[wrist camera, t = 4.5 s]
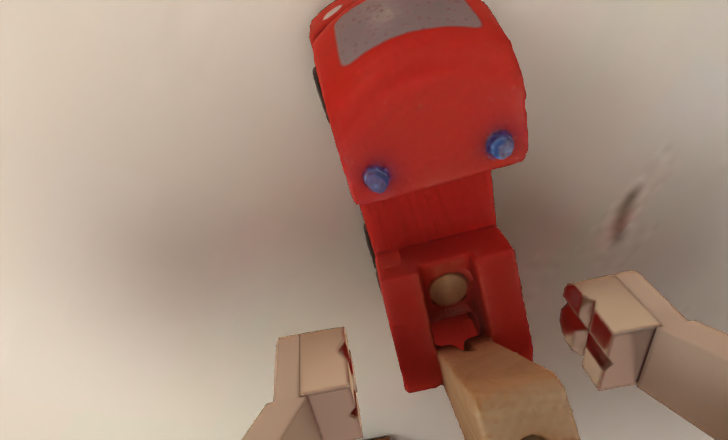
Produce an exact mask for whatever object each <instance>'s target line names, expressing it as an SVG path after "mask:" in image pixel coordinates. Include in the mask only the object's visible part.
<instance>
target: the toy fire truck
mask: <svg viewBox="0 0 728 440" xmlns="http://www.w3.org/2000/svg"><path fill="white" fill-rule="evenodd" d="M309 38H310V41H311V45H312V48H313V53H314V62H315V65H316V66H315V67H314V68H313V76H314V80H315V83H316V87H317V91H318V95H319V97H320V100H321V103H322V106H323V109H324V111H325V113H326V117H327V120H328V122H329V124H330V125H331V129H332V132H333V135H334V139H335V143H336V147H337V150H338V152H339V155H340V160H341V163H342V167H343V170H344V173H345V175H346V178H347V182H348V185H349V188H350V192H351V195H352V198H353V200H354V202H355V203H356V204H359V205H360V208H361V211H362V215H363V218H364V221H365V224H364V232H365V235H366V240H367V244H368V248H369V251H370V254H371V257H372V260H373V264H374V267H375V269H376V276H377V279H378V283H379V287H380V290H381V294H382V297H383V300H384V304H385V308H386V313H387V316H388V320H389V325H390V329H391V333H392V337H393V341H394V345H395V349H396V353H397V357H398V361H399V366H400V370H401V373H402V377H403V381H404V387H405V390H406V391H407V392H408V393H413V392H417V391H422V390H427V389H431V388H436V387H438V386H439V385H443V386H444V388H445V390H446V393H447V395H448V397H449V400H450V402H451V405H452V408H453V411H454V413H455V416H456V418H457V420H458V423H459V425H460V428H461V430H462V433H463V435H464V438H465V440H580V437H579V434H578V430H577V426H576V423H575V420H574V417H573V414H572V409H571V407H570V405H569V402H568V398H567V395H566V391H565V388H564V386H563V385H562V383H561V382H560V380H559V379H558V377H557V376H556V375H555V374H554V372H552V371H550V370H548V369H546V368H545V367H543V366H540V365H538V364H536V363H534V362H533V346H532V340H531V335H530V332H529V324H528V320H527V316H526V310H525V304H524V301H523V295H522V287H521V283H520V278H519V274H518V267H517V263H516V256H515V251H514V249H513V248H512V246H511V245H510V244H509V242H508V241H507V239H506V238H505V237H504V235H503V234H502V232H501V231H500V230H499V229H498V228H497V225H496V215H495V206H494V197H493V184H492V177H491V170H493V169H497V168H501V167H505V166H508V165H512V164H515V163H518V162H522V161H523V160H524V159H525V156H526V153H527V151H528V129H527V113H526V109H525V99H526V91H525V87H524V82H523V77H522V73H521V70H520V67H519V64H518V61H517V58H516V56H515V53H514V51H513V48H512V44H511V41H510V40H509V39H508V37H507V36H506V35H505V33H504V32H503V30H502V28H501V27H500V25H499V24H498V22H497V20H496V18H495V17H494V15H493V14H492V12H491V11H490V9H489V8H488V6H487V5H486V4H485V3H484V2H482V1H481V0H336V1H335V2H333V3H332V4H330V5H329V6H327V7H326V8H325V9H323V10H322V11H321V12H320V13H319V14H318V15H317V16H316V17H315V18H314V19H313V20H312V22H311V25H310V36H309Z"/></svg>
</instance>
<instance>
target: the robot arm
mask: <svg viewBox="0 0 728 440" xmlns="http://www.w3.org/2000/svg"><path fill="white" fill-rule="evenodd" d="M563 297H564V298H565V300H566V301H567V304H566V305H565V306H564V307H563V308H562V309H561V311H560V325H561V330H562V333H563V336H564V338H565V340H566V342H567V344H568V345H569V347H570V348H571V350H573V351H575V352H576V353H578V354H580V355H582V356H583V361H582V367H583V368H584V370H585V371H586V373H587V374H588V376H589V377H590V379H591V380H592V382H593V383H594V385H595V386H596V388H597V389H598V391H601V390H606V389H612V388H618V387H624V386H630V385H636V384H637V387H638V388H640V389H641V390H643V391H644V392H646V393H647V394H649V395H650V396H652V397H653V398H655V399H656V400H658V401H659V402H660V403H662V404H663V405H665V406H666V407H668V408H669V409H671V410H672V411H674V412H675V413H677V414H678V415H680V416H681V417H683V418H684V419H686V420H687V421H689V422H690V423H692V424H693V425H694V426H696V427H697V428H699V429H700V430H702V431H703V432H705V433H706V434H708V435H709V436H711V437H712V438H714V439H715V440H728V334H726V333H724V332H721V331H719V330H717V329H714V328H712V327H709V326H707V325H705V324H702V323H700V322H698V321H695V320H694V321H687V320H686V319H685V318H684V317H683V316H682V315H681V314H680V313H679V312H678V311H677V310H676V309H675V308H674V307H673V306H672V305H671V304H670V303H669V302H668V301H667V300H666V299H665V298H664V297H663V296H662V295H661V294H660V293H659V292H658V291H657V290H656V289H655V288H654V287H653V286H652V285H651V284H650V283H649V282H648V281H647V280H646V279H645V278H644V277H643V276H642V275H641V274H639V273H638V272H636V271H633V270H632V271H627V272H622V273H617V274H612V275H606V276H601V277H596V278H591V279H586V280H581V281H576V282H571V283H568V284H567V285H566V286H565V288H564V293H563ZM356 393H357V386H356V379H355V373H354V367H353V361H352V356H351V352H350V350H349V348H348V340H347V335H346V331H345V327H338V328H332V329H326V330H320V331H314V332H307V333H301V334H298V335H292V336H286V337H280V338H278V341H277V344H276V359H275V377H274V396H273V402H272V403H268V404H266V405H265V407H264V408H263V409H262V411H261V412H260V414H259V415H258V417H257V418H256V420H255V421H254V423H253V424H252V425H251V427H250V428H249V430H248V431H247V433H246V434H245V436H244V437H243V439H242V440H354V439H359V438H363V433H362V425H361V417H360V409H359V405H358V400H357V396H356Z"/></svg>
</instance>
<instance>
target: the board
mask: <svg viewBox="0 0 728 440" xmlns="http://www.w3.org/2000/svg"><path fill="white" fill-rule="evenodd" d="M373 440H391V439H390V437H389V436H388V437H383V438H378V439H373Z"/></svg>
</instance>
